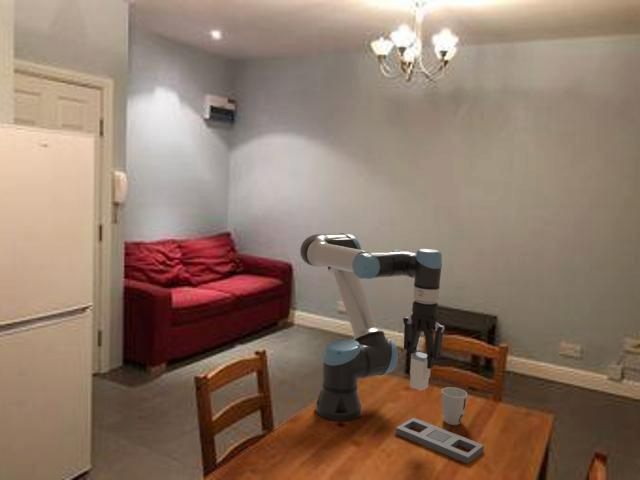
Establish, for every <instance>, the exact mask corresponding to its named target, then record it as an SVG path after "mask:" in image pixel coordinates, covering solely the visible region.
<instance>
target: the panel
mask: <svg viewBox="0 0 640 480" xmlns="http://www.w3.org/2000/svg"><path fill="white" fill-rule="evenodd" d="M412 428H414V429H416V430H419V431H420V432H418V431H415V430H413V429H412ZM395 434H396V435H398V436H400V437H402V438H405V439H408V440H410V441H412V442H414V443H417V444H419V445H421V446H424V447H426V448H428V449H431V450H433V451H436V452H437V453H438V452H439V453H440V454H443V455H446V456H447V457H450V458H451V459H454V460H458V461H460V462H462V463H464V464H467V465H468V464H469V463H471V462H472V461H473V460H475V459H476V458H477V457H478V456H479V455H481V454H482V453H484V446H485V445H484V444H483V443H479V442H477V441H474V440H472V439H469V438H467V437H464V436H462V435H459V434H457V433H453V432H452V431H449V430H446V429H443V428H441V427H439V426H436V425H434V424H431V423H428V422H426V421H423V420H421V419H418V418H415V417H412V418H410V419H408V420H406V421H405V422H403V423H401V424H399V425H398V426H396V427H395ZM457 447H461V448H464V449H466V450H469V451H465V450H461V449H460V448H457Z"/></svg>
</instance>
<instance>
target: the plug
mask: <svg viewBox="0 0 640 480" xmlns="http://www.w3.org/2000/svg"><path fill="white" fill-rule="evenodd" d="M417 352H418V353H415V354H413V355H412V365H411V364H410V365H411V374H410V380H409V387H410V388H412V389H415V390H417V391H420V392H421V391H424V390H425V389H427V388H429V378H430V377H429V378H427V379H423V375H424V362H425V358H426V357H427V353H424V352H421V351H417Z"/></svg>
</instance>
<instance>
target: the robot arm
mask: <svg viewBox="0 0 640 480" xmlns="http://www.w3.org/2000/svg"><path fill="white" fill-rule="evenodd" d="M301 243H302V244H301V245H300V248H299V252H300V257H301V259H302V260H303V261H304V263H306V264H307V265H309V266H312V267H316V268H320V267H327V269H328V273H329V274H330V275H332V276H334V278H335V281H336V285H337V287H338V291H339V293H340V297H341V299H342V303H343V306H344V308H345V311H346V314H347V317H348V321H349V324H350V327H351V331H352V333H353V338H346V339H345V338H340V339H334V340H332V341H330V342H328V343H327V344H326V345H325V348H324V352H323V356H322V360H323V365H322V384H321V385H322V387H321V390H320V392H319V395H318V397H317V401H316V403H315V412H316V414H317V413H318V414H317V415H319V417H321V418H324V419H326V420H330V421H335V422H348V421H353V420H356V419H358V418H359V417H360V416H361V415H362V408H363V407H362V403H361V400H360V396H359V392H358V386H359V380H360V379H365V378H371V377H376V376H383V375H386V374H389V373H391V372H392V371H393V370H394V369H395V368H396V366H397V363H398V358H399V351H398V347H397V345H396V343H395V342H394V341H393V340H392V339H390V338H389V337H388V338H387V337H386V336H385V335H386V334H385V332H384V330H381V329H379V328H378V325H377V323H376V320H375V316H374V315H373V310H372V308H371V306H370V302H369V299H368V297H367V294H366V291H365V288H364V285H363V282H362V279H367V280H369V279H370V280H371V279H376V278H388V277H389V278H391V277H404V276H405V277H408V278H412V279H414V283H413V296H412V297H413V299H414V300H413V301H412V308H411V309H412V310H411V311H412V312H411V313H412V314H411V315H410V316H406V317H403V319H402V321H403V324H404V325H403V326H404V329H403V330H404V331H403V333H404V334H403V349H404V350H406V351H408V363H410V365H409V366H410V369H409V375H411V365H412V355H413V354H415V353H418V352H419V351H418V349H417V348H418V344H419V341H420V337H421V333H422V332H423V335H424V338H425V346H426V347H425V348H426V354H427V357H426V358H425V362H424V375H423V379H427V378H431V370H432V369H433V367H434V364H435V363H434V361H435V359H437V358H439V357H441V354H442V346H443V345H442V344H443V336H444V332H445V330H446V326H445V325H444V324H443V325H442V324H440V323H439V322H438V319H437V318H438V312H439V303H438V302H439V299H440V285H441V283H440V282H441V273H442V268H443V267H442V266H443V263H442V260H443V259H442V258H443V256H442V252H441V251H439V250H437V249H431V248H419V249H417V251H416V253H414V252H411V251H408V250H404V249H394V250H392V251H387V252H373V251H367V250H363V249H362V247H361V244H360V242H359V239H357V238H356V237H355V236H354V235H352V234H350V233H342V232H341V233H332V234H330V233H328V234H327V233H324V234H321V233H320V234H319V233H317V234H312V235H310V236H308V237H307V238H305V239H304V240H303V241H302V242H301ZM413 326H414V327H413ZM434 328H435V334H434Z"/></svg>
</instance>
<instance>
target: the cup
mask: <svg viewBox="0 0 640 480" xmlns="http://www.w3.org/2000/svg"><path fill="white" fill-rule="evenodd" d="M467 399H468V393H467V391H466V390H465V389H462V388H458V387H444V388H442V389H441V411H442V417H443V420H444V422H445V423H446V424H447V425H451V426H457V425H459V424H461V421H462V420H463V417H464V414H465V409H466V406H467Z"/></svg>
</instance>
